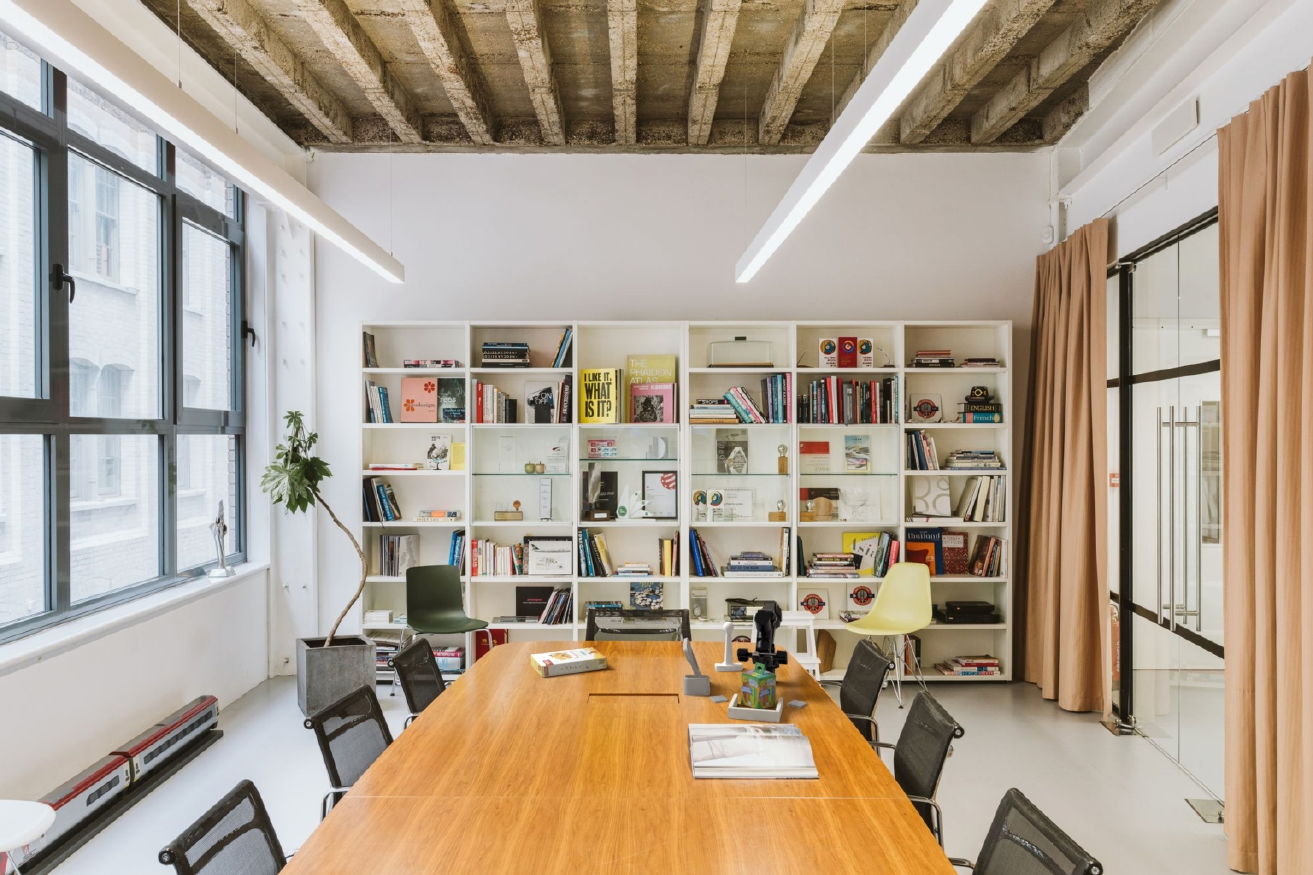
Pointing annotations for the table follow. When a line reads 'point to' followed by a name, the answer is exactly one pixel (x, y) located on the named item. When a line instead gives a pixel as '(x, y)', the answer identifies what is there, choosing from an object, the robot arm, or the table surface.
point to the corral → (754, 712)
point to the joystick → (728, 652)
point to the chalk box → (758, 688)
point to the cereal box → (568, 661)
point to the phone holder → (695, 682)
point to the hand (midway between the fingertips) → (760, 676)
